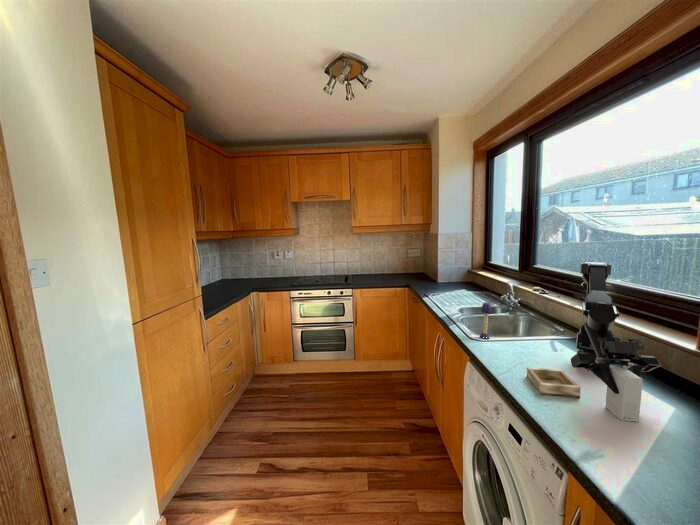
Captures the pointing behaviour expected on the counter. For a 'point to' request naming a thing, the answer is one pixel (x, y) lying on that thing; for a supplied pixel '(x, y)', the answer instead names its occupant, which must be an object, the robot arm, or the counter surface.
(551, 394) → the wooden tray
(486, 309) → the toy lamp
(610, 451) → the counter surface
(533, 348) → the counter surface
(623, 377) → the skincare box
